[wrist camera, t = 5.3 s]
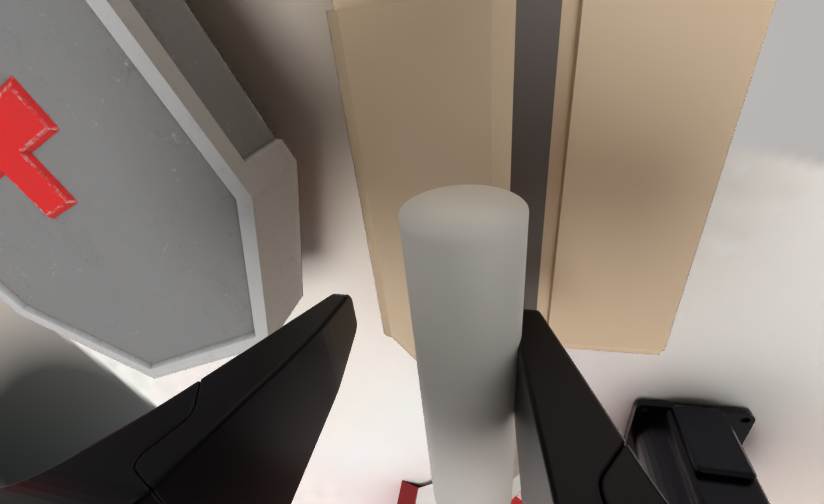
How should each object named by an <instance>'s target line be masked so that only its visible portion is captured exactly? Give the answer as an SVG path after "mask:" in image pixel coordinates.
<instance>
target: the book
mask: <svg viewBox="0 0 824 504" xmlns="http://www.w3.org/2000/svg"><path fill="white" fill-rule="evenodd" d="M397 504H436V501H435V497H434V491H433V484H430V485H427V486H423V487H420V488H417V487H415V486H413V485H411V484H409V483H407V482H405V481H403V480H402V485H401V489H400V494H399V498H398V503H397ZM511 504H522V501H521V500H520V499H519V498H517V497H516V496H515V497H514V498H513V499H512V500H511Z"/></svg>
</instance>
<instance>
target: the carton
mask: <svg viewBox="0 0 824 504" xmlns="http://www.w3.org/2000/svg"><path fill="white" fill-rule="evenodd" d="M413 1H422V0H332V3H333V9H334V10H341V9H350V8H359V7H368V6H377V5H386V4H395V3H404V2H413ZM775 3H776V0H516V23H515V54H514V85H513V116H512V147H511V178H510V192H513V193H515V194H517V195H518V196H520V197H521V198H522V199H523V200H524V201H525V202H526V203H527V205H528V207H529V222H528V239H527V255H526V272H525V288H524V304H523V309H531V310H538V311H540V313H541V314H542V315H543V317H544V318H545V320H546V321H547V323H548V324H549V326H550V328H551V329H552V331H553V332H554V334H555V335H556V337H557V338H558V340H559V341H560V343H561V344H562V346H563V347H564V348H571V349H585V350H599V351H613V352H627V353H641V354H655V355H659V353H660V351H664V350H665V347H666V344H667V341H668V338H669V335H670V331H671V328H672V325H673V322H674V319H675V316H676V313H677V310H678V306H679V303H680V300H681V297H682V294H683V291H684V288H685V284H686V281H687V278H688V275H689V272H690V269H691V266H692V263H693V259H694V256H695V253H696V250H697V247H698V244H699V241H700V238H701V234H702V231H703V228H704V225H705V222H706V219H707V216H708V212H709V209H710V206H711V203H712V200H713V197H714V194H715V191H716V187H717V184H718V181H719V178H720V175H721V172H722V169H723V165H724V162H725V159H726V156H727V153H728V150H729V147H730V144H731V140H732V137H733V134H734V131H735V128H736V125H737V121H738V118H739V115H740V112H741V109H742V106H743V103H744V100H745V97H746V93H747V90H748V87H749V84H750V81H751V78H752V75H753V72H754V68H755V65H756V62H757V59H758V56H759V53H760V50H761V47H762V43H763V40H764V37H765V34H766V31H767V28H768V25H769V21H770V18H771V15H772V12H773V9H774V5H775Z"/></svg>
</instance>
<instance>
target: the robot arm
mask: <svg viewBox="0 0 824 504" xmlns="http://www.w3.org/2000/svg"><path fill="white" fill-rule="evenodd" d="M356 329H357V321H356V316H355V311H354V307H353V302H352V299H351V297H350V296H349V295H343V294H333V295H331V296H329V297H327V298H326V299H324V300H323V301H321V302H320V303H318V304H317V305H315V306H314V307H312V308H310V309H309V310H307V311H306V312H304V313H303V314H301V315H300V316H298V317H297V318H295V319H293V320H292V321H290V322H289V323H287V324H286V325H284V326H283V327H281V328H280V329H278V330H277V331H275V332H273V333H272V334H270V335H269V336H267V337H266V338H264V339H263V340H261V341H260V342H258V343H256V344H255V345H253V346H252V347H250V348H249V349H247V350H246V351H244V352H243V353H241V354H239V355H238V356H236V357H235V358H233V359H232V360H230V361H229V362H227V363H226V364H224V365H222V366H221V367H219V368H218V369H216V370H215V371H213V372H212V373H210V374H209V375H207V376H205V377H204V378H202V379H201V382H199V381H198V382H196V383H195V384H193V385H191V386H190V387H188V388H187V389H185V390H184V391H182V392H181V393H179V394H177V395H176V396H174V397H173V398H171V399H169V400H168V401H166V402H165V403H163V404H161V405H160V406H158V407H157V408H155V409H153V410H152V411H150V412H148V413H146V414H145V415H143V416H141V417H140V418H138V419H136V420H134V421H133V422H131V423H129V424H128V425H126V426H124V427H122V428H121V429H119V430H117V431H115V432H113V433H112V434H110V435H108V436H106V437H105V438H103V439H101V440H99V441H98V442H96V443H94V444H92V445H90V446H89V447H87V448H85V449H83V450H82V451H80V452H78V453H76V454H74V455H73V456H71V457H69V458H67V459H65V460H64V461H62V462H60V463H58V464H57V465H55V466H53V467H51V468H49V469H47V470H45V471H43V472H42V473H39V474H37V475H35V476H33V477H30V478H29V479H25V480H23V481H20V482H17V483H14V484H12V485H8V486H4V487H1V488H0V504H291V503H292V500H293V498H294V495H295V493H296V491H297V488H298V486H299V484H300V481H301V479H302V476H303V474H304V472H305V469H306V467H307V465H308V462H309V460H310V457H311V455H312V453H313V450H314V448H315V445H316V443H317V441H318V438H319V436H320V434H321V431H322V429H323V426H324V424H325V422H326V419H327V417H328V415H329V412H330V410H331V407H332V405H333V403H334V400H335V398H336V395H337V393H338V390H339V387H340V384H341V381H342V378H343V374H344V371H345V367H346V364H347V361H348V357H349V354H350V350H351V347H352V344H353V340H354V337H355V333H356ZM514 417H515V431H516V442H517V452H518V463H519V474H520V485H521V496H522V504H770V503H769V501H768V499H767V497H766V495H765V493H764V491H763V489H762V487H761V485H760V483H759V481H758V479H757V476H756V473H755V471H754V469H753V467H752V465H751V463H750V461H749V459H748V457H747V455H746V453H745V451H744V449H743V447H742V444H743V442H744V440H745V438H746V436H747V435H748V433H749V431H750V429H751V427H752V426H753V424H754V422H755V418H754V416H753V414H752V413H751V411H749V410H746V409H736V408H726V407H715V406H704V405H694V404H683V403H673V402H662V401H651V400H639V401H636V402H635V403H634V406H633V410H632V413H631V416H630V420H629V423H628V427H627V430H626V433H625V437H624V438H623V436H622V435H621V433H620V432H619V430H618V429H617V427H616V426H615V424H614V423H613V421H612V420H611V418H610V417H609V415H608V414H607V412H606V411H605V409H604V408H603V406H602V405H601V403H600V402H599V400H598V399H597V397H596V396H595V394H594V393H593V391H592V390H591V388H590V387H589V385H588V383H587V382H586V380H585V379H584V377H583V376H582V374H581V373H580V371H579V370H578V368H577V367H576V365H575V364H574V362H573V361H572V359H571V358H570V356H569V355H568V353H567V352H566V350H565V349H564V347H563V346H562V344H561V343H560V341H559V340H558V338H557V337H556V335H555V334H554V332H553V331H552V329H551V328H550V326H549V324H548V323H547V321H546V320H545V318H544V317H543V315H542V314H541V313H540V311H538V310H531V309H523V321H522V337H521V341H520V344H519V349H518V364H517V378H516V392H515V407H514Z"/></svg>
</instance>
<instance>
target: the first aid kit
mask: <svg viewBox="0 0 824 504" xmlns="http://www.w3.org/2000/svg"><path fill="white" fill-rule="evenodd" d="M302 296H303V283H302V261H301V239H300V216H299V194H298V172H297V161H296V159H295V158H294V156H293V155H292V153H291V152H290V150H289V149H288V147H287V146H286V144H285V142H284V141H283V140H282V139H276V138H275V137H274V135H273V134H272V132H271V131H270V129H269V128H268V126H267V125H266V123H265V122H264V120H263V119H262V117H261V116H260V114H259V113H258V111H257V109H256V108H255V106H254V105H253V103H252V102H251V100H250V99H249V97H248V96H247V94H246V93H245V91H244V90H243V88H242V87H241V85H240V84H239V82H238V81H237V79H236V78H235V76H234V75H233V73H232V72H231V70H230V69H229V67H228V66H227V64H226V63H225V61H224V60H223V58H222V57H221V55H220V54H219V52H218V51H217V49H216V48H215V46H214V45H213V43H212V42H211V40H210V39H209V37H208V36H207V34H206V33H205V31H204V30H203V28H202V26H201V25H200V23H199V22H198V20H197V19H196V17H195V16H194V14H193V13H192V11H191V10H190V8H189V7H188V5H187V4H186V2H185V1H184V0H0V298H1V299H2V300H3V301H5V302H6V303H7V304H8V305H9V306H10V307H12V308H13V309H14V310H15V311H16V312H18V313H19V314H20V315H21V316H23V317H26V318H28V319H30V320H32V321H34V322H36V323H38V324H40V325H42V326H45V327H47V328H49V329H51V330H53V331H55V332H57V333H59V334H61V335H64V336H66V337H68V338H70V339H72V340H74V341H76V342H78V343H81V344H83V345H85V346H87V347H89V348H91V349H93V350H95V351H97V352H100V353H102V354H104V355H106V356H108V357H110V358H112V359H114V360H116V361H119V362H121V363H123V364H125V365H127V366H129V367H131V368H133V369H135V370H138V371H140V372H142V373H144V374H146V375H148V376H150V377H152V378H154V379H155V378H158V377H162V376H165V375H168V374H172V373H175V372H179V371H182V370H186V369H189V368H193V367H196V366H199V365H203V364H206V363H210V362H213V361H217V360H220V359H224V358H227V357H230V356H234V355H237V354H241V353H243V352H244V351H246V350H247V349H249V348H250V347H252V346H253V345H255V344H256V343H258V342H260V341H261V340H263V339H264V338H266V337H267V336H269V335H270V334H272V333H273V332H275V331H277V330H278V329H280V328H281V327H282V326H283V324H284V323H285V321H286V320H287V318H288V317H289V315H290V314H291V312H292V311H293V309H294V308H295V306H296V305H297V303H298V302H299V300H300V299H301V297H302Z"/></svg>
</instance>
